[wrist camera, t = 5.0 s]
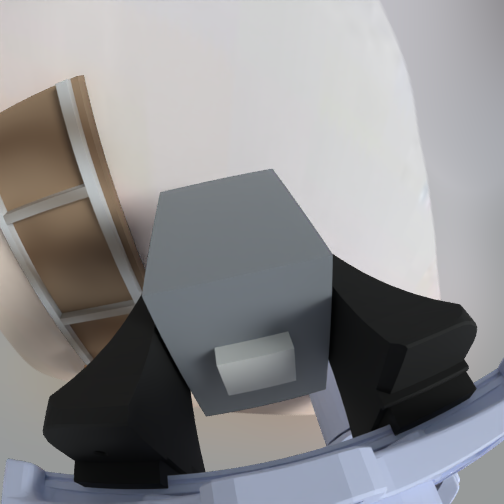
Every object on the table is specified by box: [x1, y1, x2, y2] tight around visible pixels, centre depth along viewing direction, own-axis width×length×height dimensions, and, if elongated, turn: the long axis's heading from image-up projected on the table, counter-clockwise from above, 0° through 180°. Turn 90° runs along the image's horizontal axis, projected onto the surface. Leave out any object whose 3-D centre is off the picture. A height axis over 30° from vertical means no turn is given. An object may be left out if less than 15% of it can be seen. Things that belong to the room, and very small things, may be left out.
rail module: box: [142, 169, 333, 416], centre depth 11 cm, size 6×4×7 cm
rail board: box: [0, 75, 146, 365], centre depth 17 cm, size 20×8×2 cm, turn 8°
